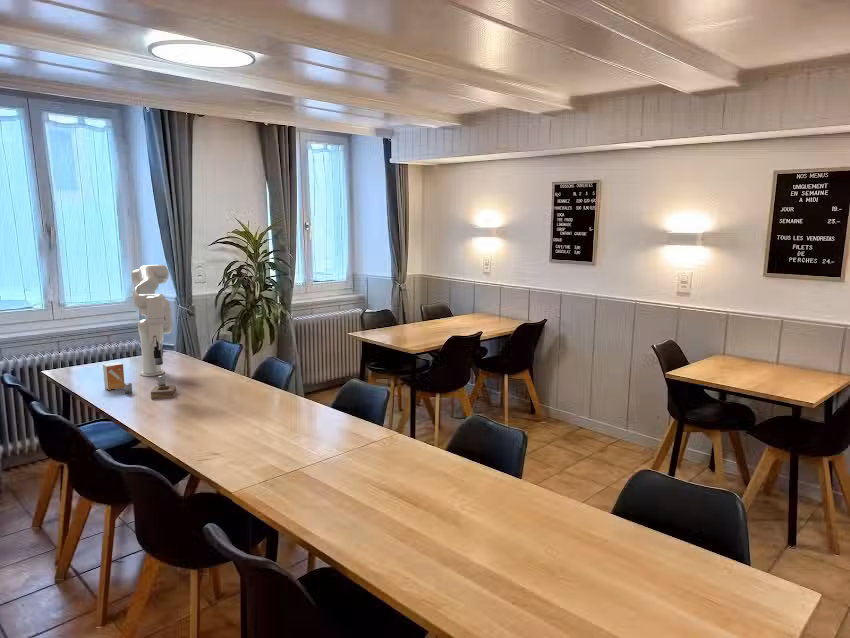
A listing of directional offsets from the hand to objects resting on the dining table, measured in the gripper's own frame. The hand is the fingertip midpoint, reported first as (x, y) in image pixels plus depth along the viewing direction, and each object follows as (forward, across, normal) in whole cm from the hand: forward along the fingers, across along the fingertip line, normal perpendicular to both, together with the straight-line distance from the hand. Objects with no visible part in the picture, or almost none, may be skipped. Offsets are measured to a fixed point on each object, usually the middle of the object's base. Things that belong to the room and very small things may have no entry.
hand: (158, 356), depth 288 cm
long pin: (+4, 0, 0) cm, 4 cm away
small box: (+20, -17, -26) cm, 37 cm away
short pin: (+20, -6, -17) cm, 27 cm away
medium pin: (+20, -6, -1) cm, 21 cm away
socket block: (+20, 0, +1) cm, 20 cm away
